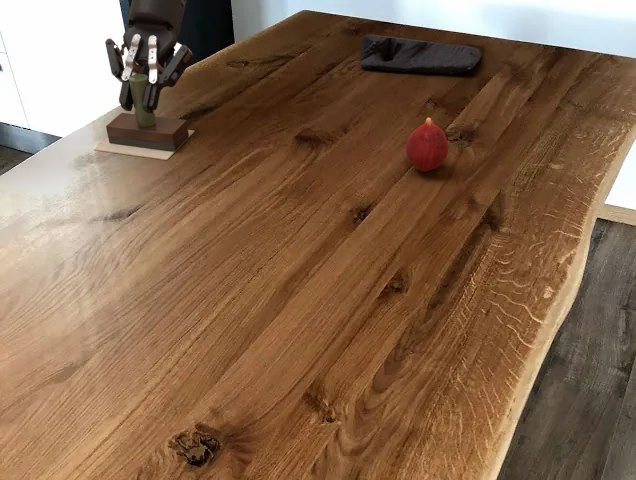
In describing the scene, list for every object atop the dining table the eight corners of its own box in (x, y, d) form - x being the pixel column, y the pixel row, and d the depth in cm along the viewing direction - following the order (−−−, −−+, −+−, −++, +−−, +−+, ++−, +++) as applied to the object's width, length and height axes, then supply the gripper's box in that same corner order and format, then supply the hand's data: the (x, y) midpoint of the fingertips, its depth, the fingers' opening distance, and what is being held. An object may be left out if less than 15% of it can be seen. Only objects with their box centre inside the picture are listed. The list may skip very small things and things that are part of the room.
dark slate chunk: (472, 83, 129) (475, 57, 126) (352, 69, 134) (353, 43, 131) (484, 54, 140) (488, 28, 137) (373, 42, 146) (374, 17, 143)
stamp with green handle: (109, 143, 111) (95, 80, 105) (124, 129, 115) (112, 67, 109) (175, 151, 109) (165, 87, 103) (189, 137, 113) (180, 74, 106)
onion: (453, 174, 104) (460, 121, 99) (422, 185, 102) (428, 131, 96) (426, 158, 108) (432, 106, 103) (396, 168, 105) (400, 116, 100)
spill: (94, 150, 110) (93, 149, 110) (125, 122, 117) (125, 121, 117) (167, 160, 107) (167, 159, 107) (194, 131, 115) (194, 130, 115)
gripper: (104, -19, 106) (80, 95, 105) (194, -13, 103) (170, 104, 102) (128, 8, 113) (105, 115, 112) (212, 14, 110) (190, 124, 109)
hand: (136, 109), depth 107 cm, fingers closed on stamp with green handle, 3 cm apart
